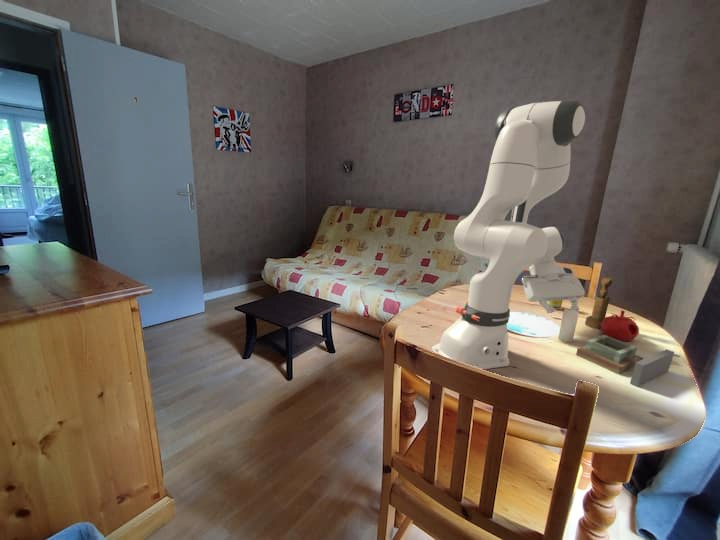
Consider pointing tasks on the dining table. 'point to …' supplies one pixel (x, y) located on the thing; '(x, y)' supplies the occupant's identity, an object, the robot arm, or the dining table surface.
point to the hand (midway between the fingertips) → (563, 311)
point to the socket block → (610, 354)
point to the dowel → (568, 325)
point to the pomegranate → (619, 327)
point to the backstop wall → (651, 367)
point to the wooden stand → (599, 306)
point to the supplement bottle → (555, 304)
